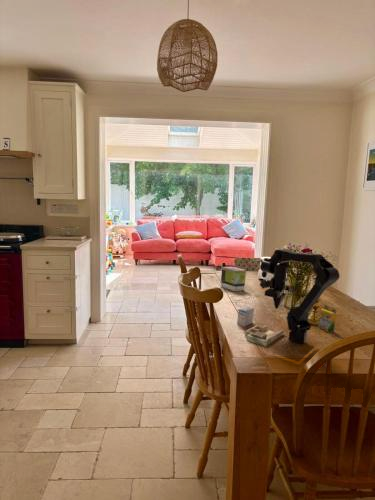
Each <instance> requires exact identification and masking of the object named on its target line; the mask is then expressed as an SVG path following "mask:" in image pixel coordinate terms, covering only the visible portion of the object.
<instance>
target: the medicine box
mask: <svg viewBox="0 0 375 500" xmlns="http://www.w3.org/2000/svg"><path fill="white" fill-rule="evenodd" d="M237 310H238V311H237V323H236V324H237V325H239V326H242V327H246V326H249V325H251V324H253V319H254V308H253V307H251V306H250V307H249V306H247V305H246V306H244V307H240V308H239V309H237Z"/></svg>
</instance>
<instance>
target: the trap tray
mask: <svg viewBox="0 0 375 500" xmlns="http://www.w3.org/2000/svg"><path fill="white" fill-rule="evenodd" d="M257 331H258V332H261V333H265V334H267V338H266V340H263V339H260V338H256V337H253V336H252V334H254V333H256V332H257ZM244 333H245V335H244V336H245V337H246V341H248V342H250V343H254V344H256V345H261V346H263V347H267V346H268V345H270V344H271V343H273V342H274V341H276V340H278V339H279V338H280V337H282V336H283V335H284V329H280V330H279V331H277V332H276V331H272V330H270V329H269V330H268V325H267V324H265V325H263V326H260V325H259V324H256V325H254V326H252V327H250V328H248V329H247V330H245V332H244Z"/></svg>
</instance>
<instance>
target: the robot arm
mask: <svg viewBox="0 0 375 500" xmlns="http://www.w3.org/2000/svg"><path fill="white" fill-rule="evenodd" d="M270 257H271V258H270V259H269V258H264V261H263V262H262V263H261V265H260V264H259V269H260V268H261V270H262V271H264V272H267V273H271V274H273V273H274V277H272V278H271V280H267V281H266V280H261V279H260V282H259V286H260V287H261V289H262V290H264V289H265V288H266V290H264V295H263V296H264V297H270V298H272V299H273V303H274V309H279V308H280V306H281V304H282V302H283V300H284V299H285V298H286V295H287V293H290V292H292V286H291V285H289V284H286V283H287V281H288V278H287V274H288V269H291V268H292V266H291V265H290V263H289V262H299V263H308V264H309V263H310V264H311V265H312V269H313V271H314V273H315V274H316V276H315V279H314V284H313V286H312V287H311V289H310V290H309V291H308V293H307V294H306V296H305V297H304V298H303V300H301V303H300V304H299V305H297V306H294V307H293V306H292V307H291V308H290V309H289V311H288V313H286V315H287V316H286V321H287V328H288V330H289V334H288V341H290V342H292V343H294V344H297V345H305V344H306V343H307V336H308V331H310V330H311V327H312V326H311V324H310V322H309V321H308V318H309V314H310V311H311V309H312V308H313V307H314V305H315V304H316V303H317V301H318V300H319V299H320V298H321V296H322V294H323V293H324V292H325V290H327V288H329V287H331V286H333V285H334V284H335V283H336V282H337V281H338V280H339V279H340V276H341V275H340V272H339V270H338V269H337V268H336V267H335V266H334V265H333V264H332V263H331V262H330V261H328V260H327V259H326V258H325V257H324V256H323V255H322V254H320V253H304V252H296V251H293V250H291V249H287V248H283V249H281V248H280V249H279V248H277V249H275V250H274V252H273V254H272V255H271V256H270ZM278 262H280V263H278ZM267 288H268V289H267ZM284 291H287V293H284Z"/></svg>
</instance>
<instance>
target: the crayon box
mask: <svg viewBox="0 0 375 500" xmlns="http://www.w3.org/2000/svg"><path fill="white" fill-rule="evenodd" d="M336 315H337V308H334V307H332V306H328V305H324V306H323V308H321V309H320V311H319V321H318V328H319V327H320V328H319V329H321V328H323V329H322V330H324V329H325V330H324V331H326V330H328V331H330V332H329V333H333V332H332V331H334V332H335V326H336V325H335V323H336ZM328 331H327V332H328Z"/></svg>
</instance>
